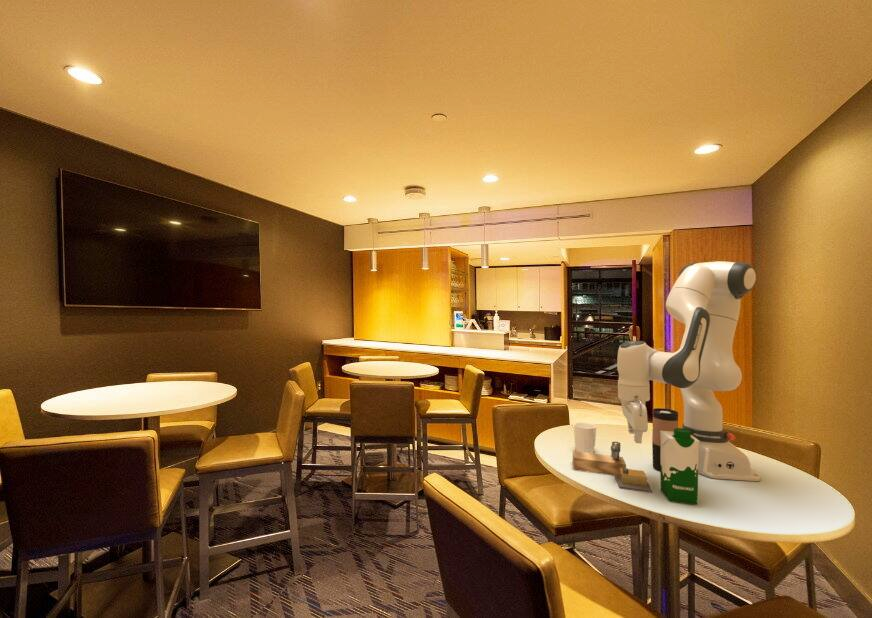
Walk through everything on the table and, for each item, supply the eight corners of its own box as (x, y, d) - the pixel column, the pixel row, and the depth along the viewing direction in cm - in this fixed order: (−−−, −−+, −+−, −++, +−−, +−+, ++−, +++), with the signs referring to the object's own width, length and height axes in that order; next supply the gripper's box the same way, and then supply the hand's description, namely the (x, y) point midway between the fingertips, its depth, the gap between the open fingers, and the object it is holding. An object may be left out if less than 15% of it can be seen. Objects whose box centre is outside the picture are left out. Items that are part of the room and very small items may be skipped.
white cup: (599, 455, 143) (599, 428, 143) (577, 454, 143) (578, 428, 143) (591, 448, 150) (591, 422, 151) (570, 447, 151) (571, 422, 151)
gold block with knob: (643, 480, 120) (643, 468, 120) (647, 487, 115) (647, 474, 115) (618, 477, 122) (619, 465, 122) (621, 483, 117) (621, 471, 117)
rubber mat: (645, 480, 121) (645, 478, 121) (652, 492, 113) (652, 490, 113) (614, 476, 124) (614, 474, 124) (619, 488, 115) (619, 486, 115)
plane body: (622, 468, 130) (622, 448, 131) (625, 476, 124) (626, 455, 124) (572, 462, 135) (572, 443, 135) (573, 469, 128) (574, 449, 129)
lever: (612, 448, 130) (612, 438, 130) (620, 450, 128) (620, 439, 128) (609, 457, 121) (609, 446, 121) (618, 459, 120) (618, 448, 120)
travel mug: (676, 467, 132) (676, 409, 133) (679, 475, 125) (680, 414, 126) (650, 463, 136) (651, 407, 136) (653, 471, 129) (653, 411, 129)
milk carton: (667, 502, 107) (668, 431, 107) (656, 488, 116) (657, 422, 116) (702, 506, 105) (703, 434, 105) (688, 492, 114) (689, 424, 114)
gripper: (653, 401, 108) (654, 450, 108) (638, 387, 128) (639, 428, 127) (628, 400, 110) (629, 448, 110) (617, 386, 129) (618, 427, 129)
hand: (634, 437), depth 119 cm, fingers open, 8 cm apart
